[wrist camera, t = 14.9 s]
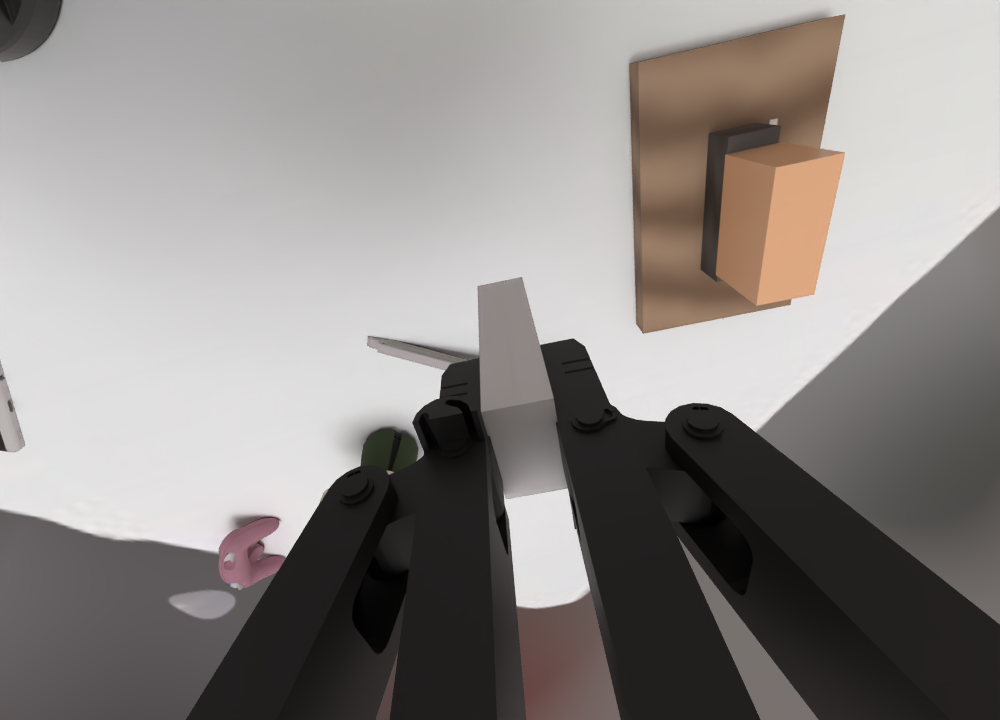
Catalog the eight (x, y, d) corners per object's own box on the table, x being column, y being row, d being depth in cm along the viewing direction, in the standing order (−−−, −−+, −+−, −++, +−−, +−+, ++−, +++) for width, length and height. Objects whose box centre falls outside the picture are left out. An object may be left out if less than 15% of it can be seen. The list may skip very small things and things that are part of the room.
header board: (629, 64, 31) (676, 56, 24) (824, 18, 31) (932, -4, 23) (636, 324, 43) (669, 370, 36) (777, 296, 42) (839, 338, 35)
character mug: (446, 438, 50) (439, 536, 39) (426, 478, 53) (414, 578, 42) (353, 411, 47) (317, 508, 36) (337, 454, 50) (300, 556, 39)
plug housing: (725, 154, 30) (775, 167, 25) (782, 141, 30) (845, 152, 25) (715, 274, 35) (756, 305, 30) (765, 264, 35) (814, 294, 30)
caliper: (563, 366, 46) (575, 403, 41) (560, 375, 46) (571, 412, 41) (368, 334, 43) (353, 369, 37) (367, 343, 43) (353, 379, 38)
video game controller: (255, 503, 56) (204, 544, 51) (282, 518, 55) (233, 562, 50) (263, 548, 62) (218, 591, 56) (288, 563, 60) (245, 608, 55)
